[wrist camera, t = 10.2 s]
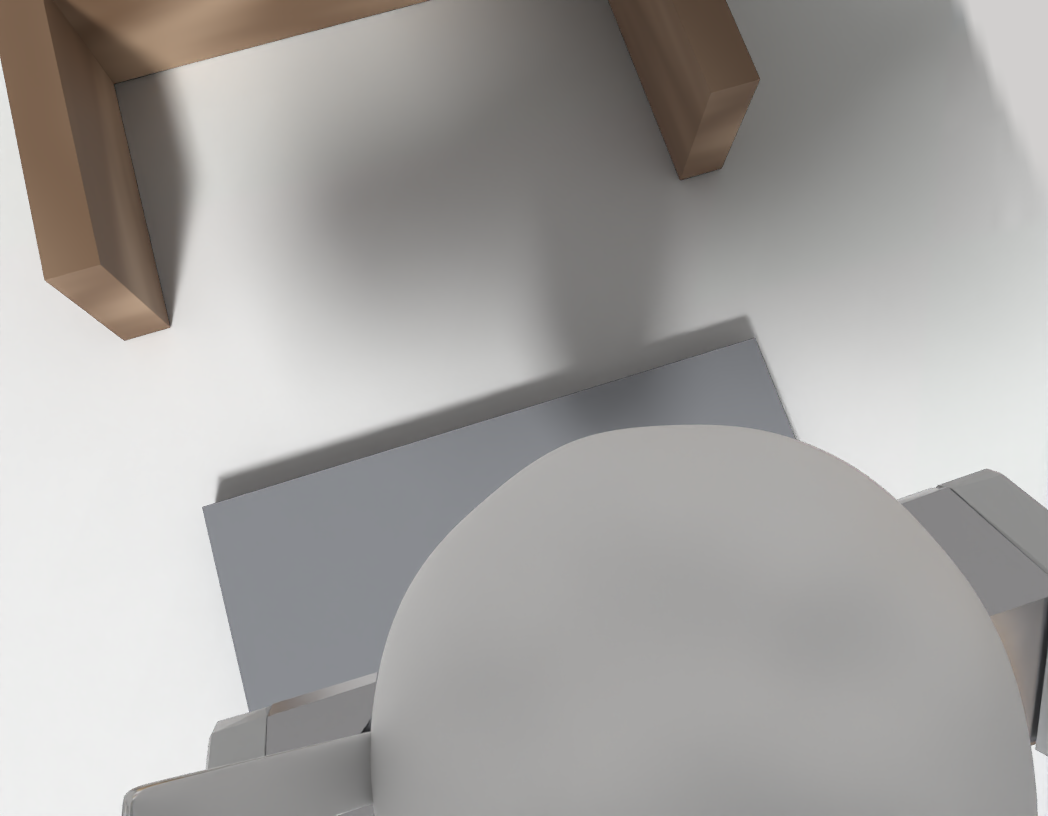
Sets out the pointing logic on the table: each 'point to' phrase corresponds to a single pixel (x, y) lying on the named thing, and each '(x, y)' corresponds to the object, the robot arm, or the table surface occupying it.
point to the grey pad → (422, 516)
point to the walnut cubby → (243, 22)
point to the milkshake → (669, 655)
